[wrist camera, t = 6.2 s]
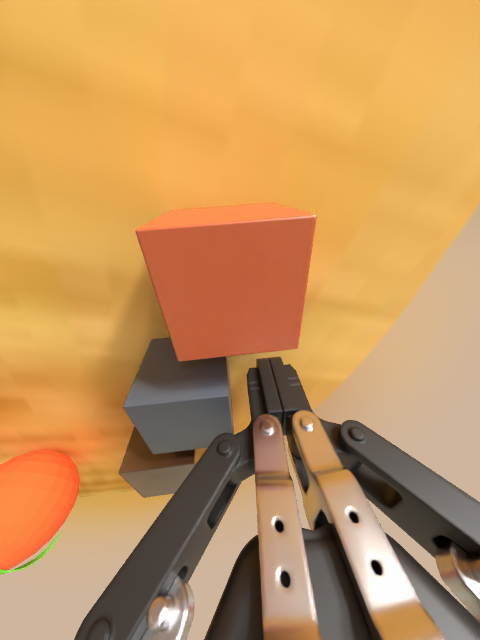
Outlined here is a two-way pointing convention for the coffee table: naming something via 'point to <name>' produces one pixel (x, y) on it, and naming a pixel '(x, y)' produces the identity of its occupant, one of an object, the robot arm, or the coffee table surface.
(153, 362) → the slate block
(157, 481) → the walnut block
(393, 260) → the coffee table surface
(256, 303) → the terracotta block
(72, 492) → the clementine
